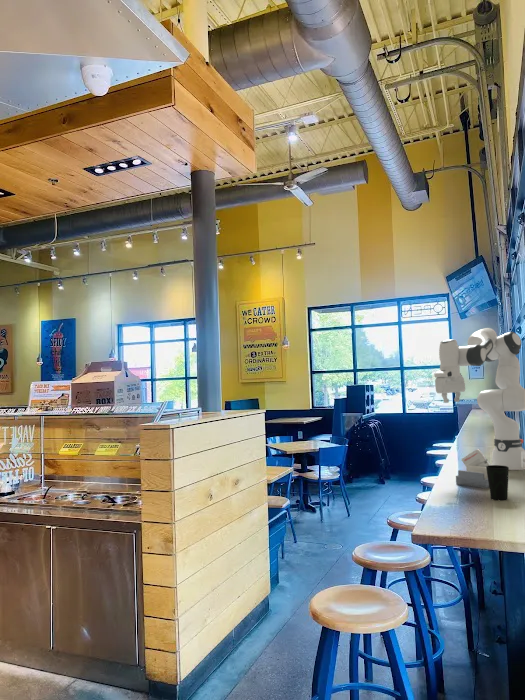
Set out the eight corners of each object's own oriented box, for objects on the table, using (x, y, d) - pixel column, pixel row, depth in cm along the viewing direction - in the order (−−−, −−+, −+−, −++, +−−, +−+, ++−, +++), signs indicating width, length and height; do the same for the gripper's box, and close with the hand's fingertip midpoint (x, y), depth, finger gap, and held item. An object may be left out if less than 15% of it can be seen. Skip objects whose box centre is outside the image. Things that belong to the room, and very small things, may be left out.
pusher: (468, 481, 223) (467, 465, 223) (491, 484, 215) (490, 467, 215) (463, 483, 220) (462, 466, 220) (486, 486, 212) (485, 469, 212)
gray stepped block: (475, 478, 229) (474, 465, 230) (505, 482, 219) (504, 468, 219) (456, 484, 219) (455, 470, 220) (486, 488, 209) (485, 473, 209)
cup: (513, 501, 186) (511, 468, 187) (490, 501, 187) (488, 468, 188) (507, 497, 194) (505, 465, 194) (485, 496, 195) (484, 465, 196)
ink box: (496, 471, 222) (479, 447, 225) (494, 473, 217) (477, 449, 221) (479, 480, 225) (462, 457, 229) (477, 483, 221) (460, 459, 225)
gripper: (455, 373, 253) (457, 401, 252) (432, 373, 240) (433, 403, 239) (467, 372, 248) (469, 401, 247) (444, 373, 235) (446, 403, 234)
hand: (451, 402), depth 243 cm, fingers open, 8 cm apart
